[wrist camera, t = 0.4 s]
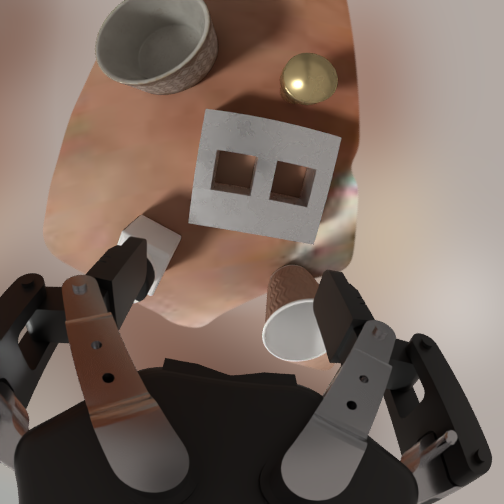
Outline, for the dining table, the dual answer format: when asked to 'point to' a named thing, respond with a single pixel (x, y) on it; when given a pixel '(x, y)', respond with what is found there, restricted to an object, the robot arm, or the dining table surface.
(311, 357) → the coffee cup
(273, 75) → the dining table surface
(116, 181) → the dining table surface
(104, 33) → the planter
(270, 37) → the dining table surface
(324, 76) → the brass knob
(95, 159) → the dining table surface
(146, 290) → the medicine bottle
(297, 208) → the jig
